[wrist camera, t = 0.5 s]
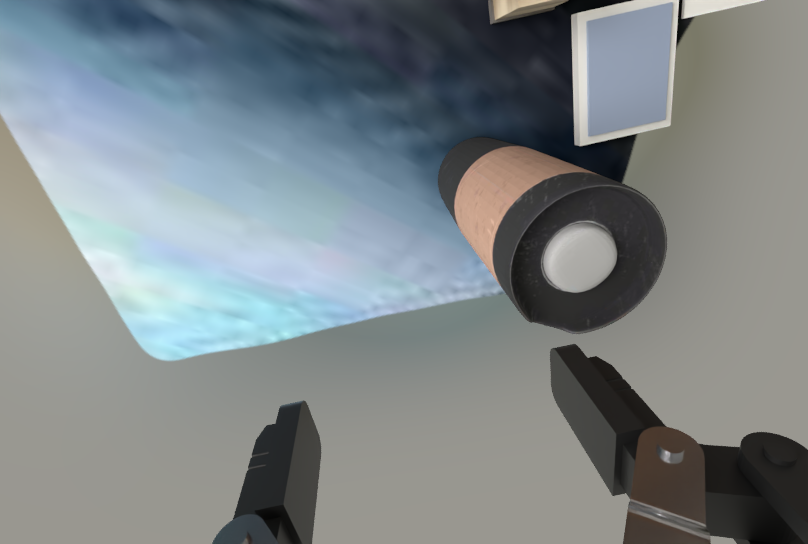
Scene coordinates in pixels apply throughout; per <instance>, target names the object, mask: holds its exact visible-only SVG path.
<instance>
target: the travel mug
mask: <svg viewBox="0 0 808 544" xmlns="http://www.w3.org/2000/svg"><path fill="white" fill-rule="evenodd" d="M438 187H439V191H440V194H441V197H442V199H443V201H444V203H445V205H446V207H447V208H448V210H449V212H450V213H451V215H452V217H453V219H454V220H455V222H456V224H457V226H458V227H459V229H460V231H461V232H462V234H463V235H464V237H465V238H466V239H467V241H468V242H469V243H470V245H471V246H472V247H473V249H474V250H475V252H476V253H477V254H478V256H479V257H480V258H481V260H482V261H483V263H484V264H485V265H486V267H487V268H488V269H489V271H490V272H491V273H492V275H493V276H494V278H495V279H496V280H497V282H498V283H499V284H500V286H501V287H502V289H503V290H504V291H505V293H506V294H507V295H508V297H509V298H510V300H511V301H512V302H513V304H514V305H515V306H516V308H517V309H518V311H519V312H520V313H521V314H522V315H523V317H524V318H525V319H526V320H527V321H529V322H535V323H539V324H543V325H546V326H550V327H554V328H558V329H561V330H564V331H566V332H569V333H572V334H581V333H587V332H591V331H594V330H597V329H600V328H603V327H605V326H607V325H610V324H612V323H614V322H615V321H617V320H619V319H621V318H622V317H624V316H625V315H626V314H628V313H629V312H630V311H632V310H633V309H634V308H635V307H636V306H637V305H638V304H639V303H640V302H641V301H642V300H643V299H644V298H645V297H646V296H647V294H648V293H649V291H650V290H651V289H652V287H653V286H654V284H655V283H656V281H657V279H658V277H659V275H660V273H661V270H662V268H663V264H664V261H665V257H666V250H667V235H666V228H665V225H664V222H663V219H662V217H661V215H660V213H659V211H658V210H657V208H656V207H655V205H654V204H653V203H652V202H651V201H650V200H649V199H648V198H647V197H646V196H645V195H643V194H642V193H640V192H639V191H637V190H635V189H633V188H631V187H629V186H627V185H625V184H622V183H619V182H617V181H614V180H612V179H609V178H606V177H604V176H601V175H598V174H596V173H593V172H591V171H588V170H585V169H583V168H580V167H578V166H575V165H572V164H570V163H567V162H564V161H562V160H559V159H557V158H554V157H551V156H549V155H546V154H543V153H541V152H538V151H536V150H533V149H530V148H526V147H523V146H519V145H515V144H511V143H508V142H504V141H500V140H496V139H492V138H486V137H476V138H471V139H467V140H465V141H463V142H461V143H459V144H457V145H456V146H455V147H454V148H452V149H451V150H450V151H449V153H448V154H447V155H446V157H445V158H444V160H443V162H442V164H441V167H440V170H439V175H438Z"/></svg>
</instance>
